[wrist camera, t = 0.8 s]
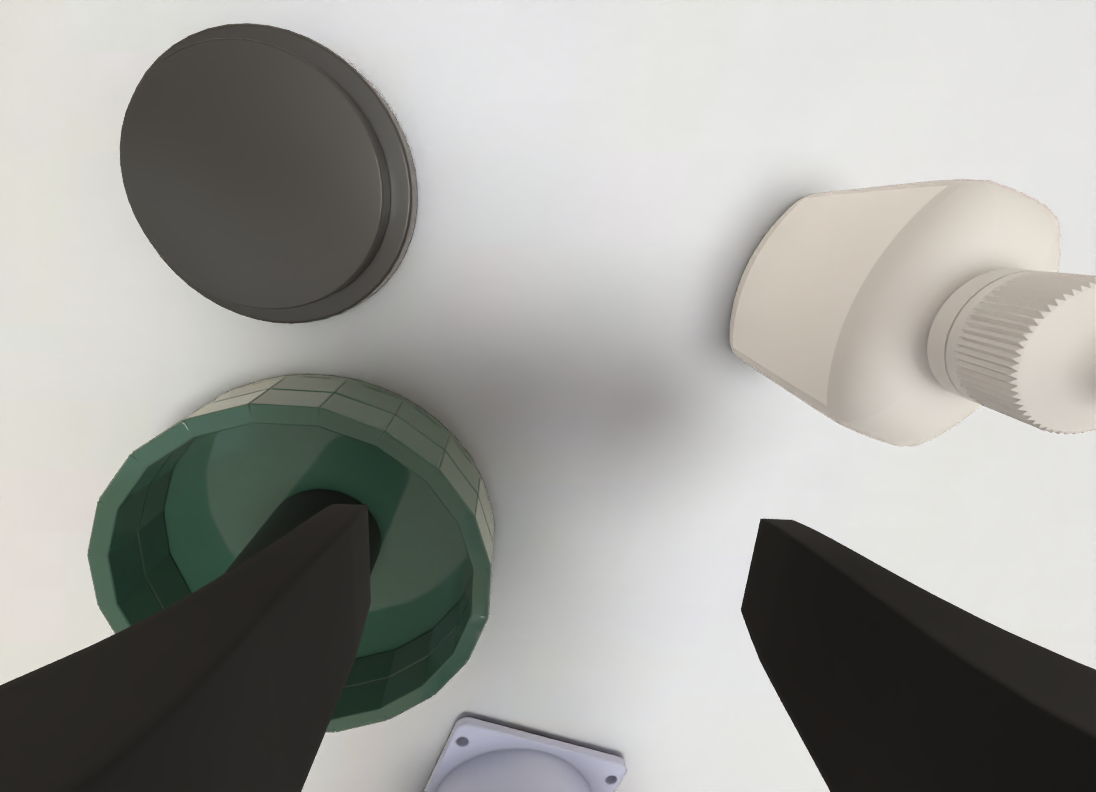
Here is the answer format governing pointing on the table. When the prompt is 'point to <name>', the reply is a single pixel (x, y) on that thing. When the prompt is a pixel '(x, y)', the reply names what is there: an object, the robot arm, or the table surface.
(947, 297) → the eye dropper bottle
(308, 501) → the black canister
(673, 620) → the table surface
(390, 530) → the tin
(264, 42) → the gray stand
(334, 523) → the robot arm
